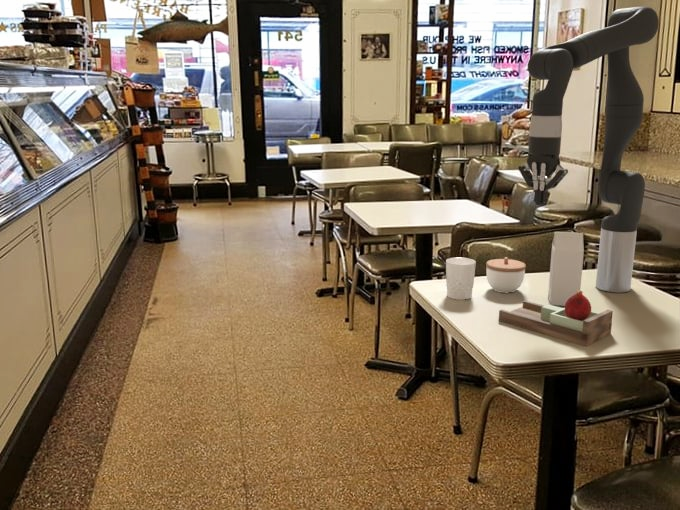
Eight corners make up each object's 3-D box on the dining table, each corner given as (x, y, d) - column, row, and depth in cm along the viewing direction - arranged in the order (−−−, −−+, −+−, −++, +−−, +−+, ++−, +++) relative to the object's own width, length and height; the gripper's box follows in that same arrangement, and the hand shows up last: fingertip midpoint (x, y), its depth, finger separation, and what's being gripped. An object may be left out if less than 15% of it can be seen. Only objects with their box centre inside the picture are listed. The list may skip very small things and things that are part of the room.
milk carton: (578, 307, 176) (585, 236, 172) (550, 305, 178) (556, 234, 173) (575, 299, 183) (581, 230, 178) (547, 297, 184) (553, 229, 180)
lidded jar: (480, 285, 196) (482, 253, 194) (516, 284, 197) (518, 252, 194) (491, 296, 185) (493, 263, 183) (529, 295, 186) (531, 262, 184)
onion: (586, 329, 154) (589, 296, 152) (560, 325, 156) (563, 292, 154) (592, 322, 158) (595, 289, 156) (566, 318, 161) (569, 285, 159)
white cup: (441, 298, 183) (443, 263, 181) (448, 290, 190) (449, 256, 188) (470, 302, 180) (472, 265, 178) (476, 294, 188) (478, 259, 185)
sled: (553, 314, 166) (554, 301, 166) (603, 327, 157) (604, 314, 156) (533, 322, 161) (534, 309, 160) (584, 336, 151) (585, 323, 151)
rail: (524, 310, 174) (525, 289, 173) (610, 333, 158) (613, 310, 156) (498, 320, 166) (499, 298, 165) (586, 346, 150) (588, 322, 149)
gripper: (578, 135, 163) (572, 206, 167) (529, 132, 172) (525, 200, 176) (562, 137, 158) (556, 210, 162) (513, 134, 167) (508, 203, 172)
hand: (540, 204), depth 169 cm, fingers closed
